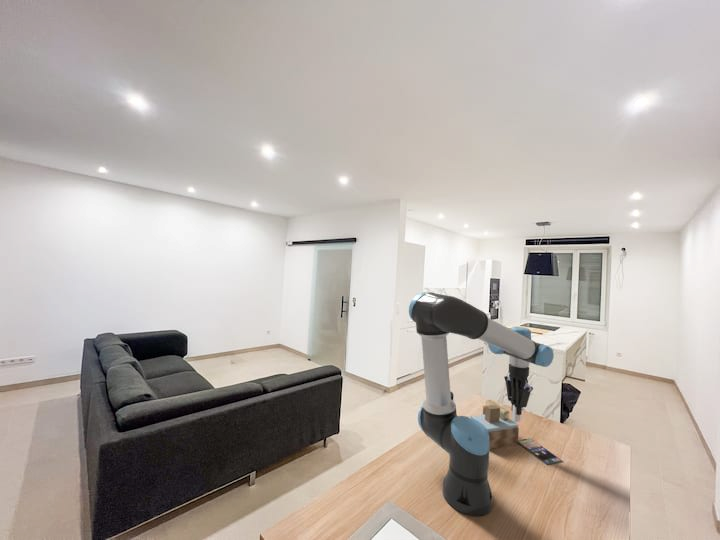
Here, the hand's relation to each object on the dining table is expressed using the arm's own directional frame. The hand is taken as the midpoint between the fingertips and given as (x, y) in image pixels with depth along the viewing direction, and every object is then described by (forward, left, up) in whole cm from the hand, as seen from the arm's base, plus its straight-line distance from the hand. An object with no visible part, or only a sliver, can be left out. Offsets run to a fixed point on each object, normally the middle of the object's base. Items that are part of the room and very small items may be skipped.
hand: (515, 420), depth 125 cm
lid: (-6, +6, -4) cm, 9 cm away
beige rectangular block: (0, +11, -2) cm, 11 cm away
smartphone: (+7, -5, -11) cm, 14 cm away
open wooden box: (-5, +8, -11) cm, 14 cm away
